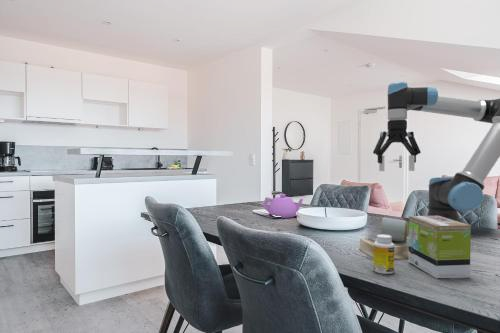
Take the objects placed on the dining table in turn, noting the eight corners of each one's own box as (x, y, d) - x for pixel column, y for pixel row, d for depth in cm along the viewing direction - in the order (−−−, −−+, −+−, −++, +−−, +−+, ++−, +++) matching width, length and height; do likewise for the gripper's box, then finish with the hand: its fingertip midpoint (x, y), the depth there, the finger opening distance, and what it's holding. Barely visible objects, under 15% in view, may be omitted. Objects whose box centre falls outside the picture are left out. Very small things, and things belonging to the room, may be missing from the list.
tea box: (406, 263, 112) (407, 215, 111) (438, 262, 112) (438, 214, 112) (435, 279, 97) (437, 224, 96) (471, 278, 97) (472, 223, 97)
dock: (407, 248, 129) (407, 236, 129) (429, 257, 117) (429, 244, 117) (359, 250, 126) (360, 237, 126) (377, 259, 115) (377, 246, 114)
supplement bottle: (389, 276, 99) (390, 238, 99) (370, 271, 103) (370, 235, 102) (396, 271, 103) (397, 235, 103) (377, 267, 107) (378, 232, 107)
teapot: (261, 218, 192) (261, 195, 191) (263, 213, 207) (264, 192, 207) (303, 219, 189) (303, 196, 189) (302, 214, 204) (303, 193, 204)
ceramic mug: (407, 244, 116) (407, 220, 116) (380, 242, 120) (380, 218, 120) (408, 238, 126) (408, 216, 126) (383, 236, 130) (383, 214, 129)
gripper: (418, 121, 157) (418, 170, 158) (365, 120, 153) (364, 170, 154) (430, 119, 150) (429, 170, 151) (374, 118, 146) (373, 171, 146)
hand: (396, 171), depth 152 cm, fingers open, 13 cm apart
